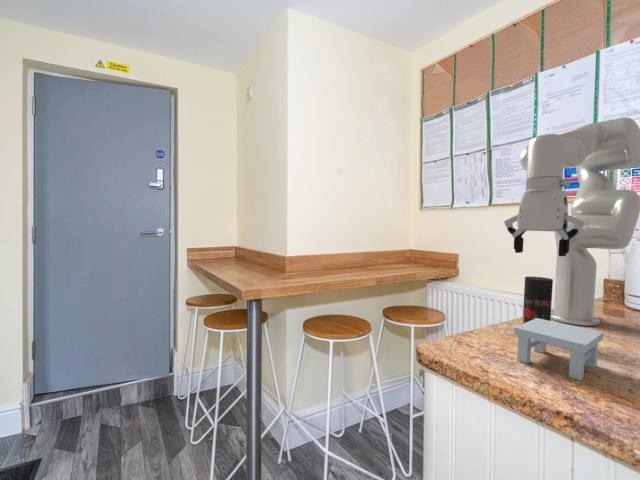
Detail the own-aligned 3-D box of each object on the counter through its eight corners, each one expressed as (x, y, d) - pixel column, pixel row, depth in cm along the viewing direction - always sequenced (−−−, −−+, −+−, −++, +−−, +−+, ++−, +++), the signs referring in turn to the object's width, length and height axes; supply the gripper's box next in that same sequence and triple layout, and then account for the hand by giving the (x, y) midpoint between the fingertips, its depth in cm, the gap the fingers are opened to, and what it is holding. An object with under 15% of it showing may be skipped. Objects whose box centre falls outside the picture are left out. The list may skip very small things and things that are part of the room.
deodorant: (554, 341, 81) (557, 281, 80) (527, 339, 82) (530, 279, 81) (543, 333, 87) (546, 277, 86) (518, 331, 88) (521, 276, 87)
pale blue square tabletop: (534, 347, 77) (536, 318, 76) (601, 365, 67) (603, 332, 67) (512, 360, 69) (514, 327, 69) (583, 382, 60) (586, 345, 60)
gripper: (591, 185, 78) (586, 256, 79) (512, 189, 91) (509, 251, 92) (581, 181, 73) (576, 258, 74) (500, 187, 87) (497, 251, 88)
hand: (539, 254), depth 83 cm, fingers open, 9 cm apart
